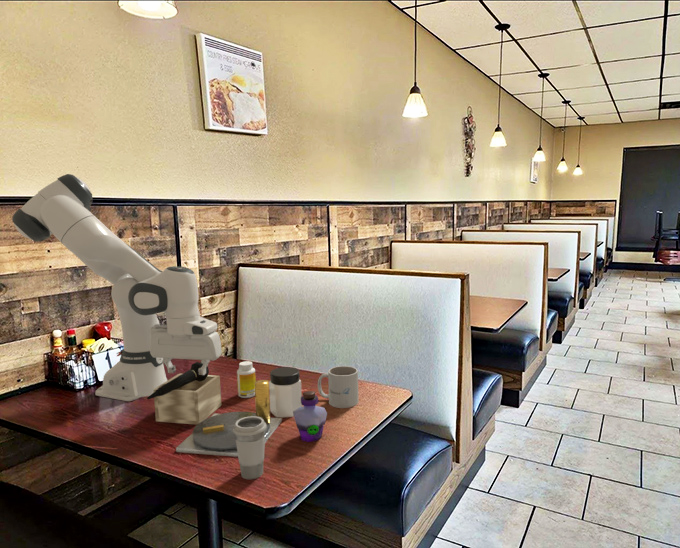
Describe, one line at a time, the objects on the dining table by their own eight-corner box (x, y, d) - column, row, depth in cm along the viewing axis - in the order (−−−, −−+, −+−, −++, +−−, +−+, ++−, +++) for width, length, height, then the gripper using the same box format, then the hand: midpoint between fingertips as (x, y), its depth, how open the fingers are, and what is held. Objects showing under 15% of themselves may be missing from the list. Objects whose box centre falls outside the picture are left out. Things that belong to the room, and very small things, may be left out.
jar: (306, 414, 134) (304, 373, 132) (279, 421, 130) (277, 379, 128) (293, 403, 141) (291, 364, 140) (267, 409, 138) (265, 369, 136)
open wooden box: (155, 421, 132) (153, 389, 130) (181, 402, 144) (179, 373, 143) (199, 424, 129) (197, 392, 128) (221, 405, 141) (219, 375, 140)
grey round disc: (194, 455, 110) (190, 407, 108) (191, 421, 128) (188, 379, 126) (277, 441, 116) (275, 394, 114) (264, 410, 134) (262, 369, 132)
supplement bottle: (259, 395, 148) (258, 363, 147) (243, 400, 145) (241, 367, 143) (250, 390, 153) (249, 359, 151) (234, 395, 149) (233, 363, 148)
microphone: (155, 393, 122) (213, 363, 138) (140, 385, 125) (199, 356, 141) (155, 411, 124) (213, 379, 140) (140, 403, 126) (199, 372, 143)
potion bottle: (305, 450, 114) (303, 402, 112) (286, 437, 121) (285, 391, 119) (335, 440, 119) (333, 393, 117) (315, 427, 126) (314, 383, 124)
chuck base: (176, 451, 115) (176, 447, 115) (214, 416, 134) (214, 413, 134) (253, 459, 110) (253, 455, 110) (281, 421, 129) (281, 418, 129)
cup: (243, 487, 99) (240, 432, 98) (230, 473, 105) (227, 421, 103) (274, 475, 103) (272, 422, 102) (260, 463, 109) (257, 412, 107)
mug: (364, 401, 142) (363, 369, 140) (347, 412, 135) (347, 377, 133) (330, 393, 149) (329, 362, 147) (312, 403, 142) (311, 370, 140)
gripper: (143, 326, 132) (147, 375, 134) (212, 329, 128) (215, 379, 130) (156, 321, 138) (160, 367, 140) (222, 323, 134) (225, 371, 136)
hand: (187, 373), depth 135 cm, fingers open, 8 cm apart
